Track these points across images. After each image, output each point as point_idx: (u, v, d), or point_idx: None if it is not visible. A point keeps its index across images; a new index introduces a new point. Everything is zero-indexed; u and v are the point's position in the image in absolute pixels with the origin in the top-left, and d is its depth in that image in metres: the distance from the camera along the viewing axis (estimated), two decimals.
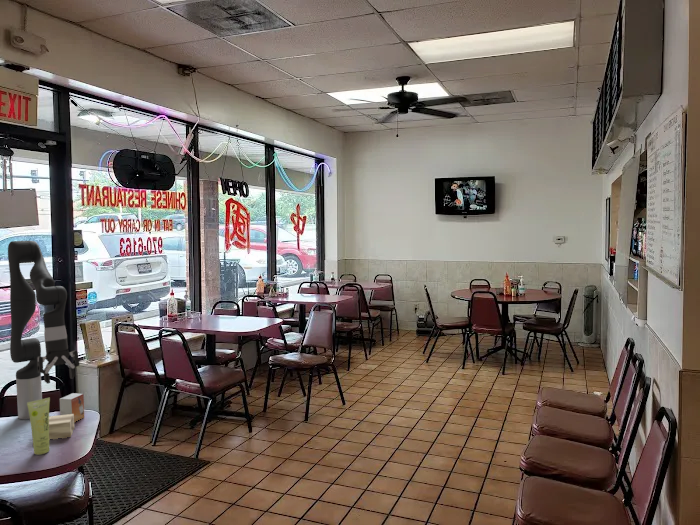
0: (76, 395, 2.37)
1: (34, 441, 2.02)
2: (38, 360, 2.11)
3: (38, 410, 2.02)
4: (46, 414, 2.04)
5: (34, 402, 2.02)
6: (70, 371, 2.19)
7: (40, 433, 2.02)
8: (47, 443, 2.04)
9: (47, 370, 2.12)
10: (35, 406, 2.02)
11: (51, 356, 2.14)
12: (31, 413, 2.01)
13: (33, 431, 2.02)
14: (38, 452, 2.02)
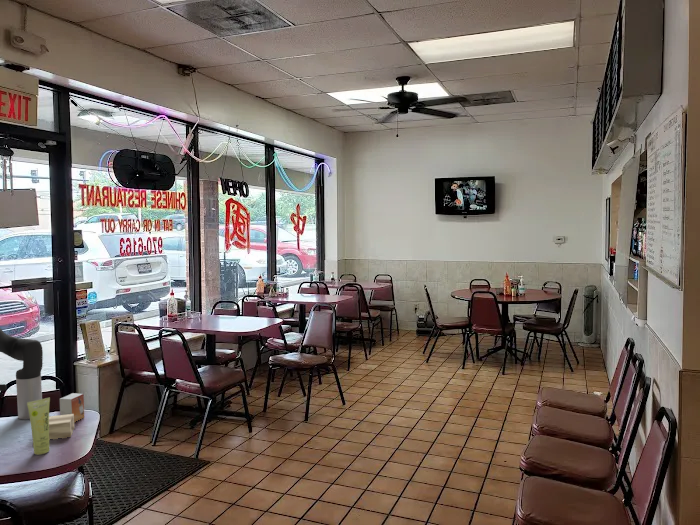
0: (76, 395, 2.37)
1: (34, 441, 2.02)
2: None
3: (38, 410, 2.02)
4: (46, 414, 2.04)
5: (34, 402, 2.02)
6: None
7: (40, 433, 2.02)
8: (47, 443, 2.04)
9: None
10: (35, 406, 2.02)
11: None
12: (31, 413, 2.01)
13: (33, 431, 2.02)
14: (38, 452, 2.02)
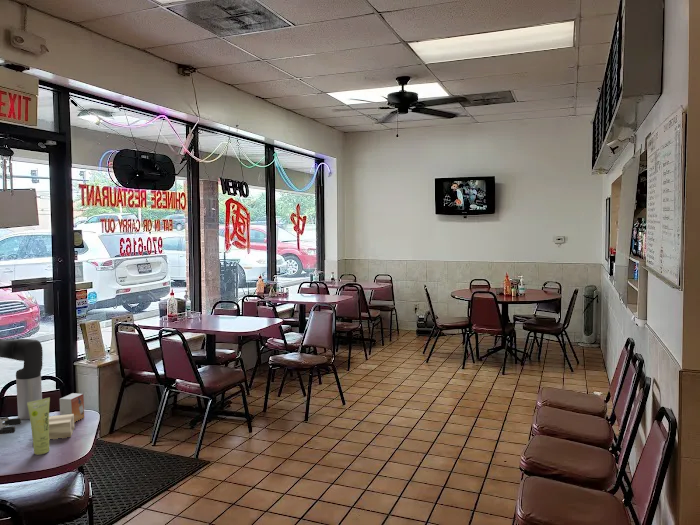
0: (76, 395, 2.37)
1: (34, 441, 2.02)
2: None
3: (38, 410, 2.02)
4: (46, 414, 2.04)
5: (34, 402, 2.02)
6: None
7: (40, 433, 2.02)
8: (47, 443, 2.04)
9: None
10: (35, 406, 2.02)
11: None
12: (31, 413, 2.01)
13: (33, 431, 2.02)
14: (38, 452, 2.02)
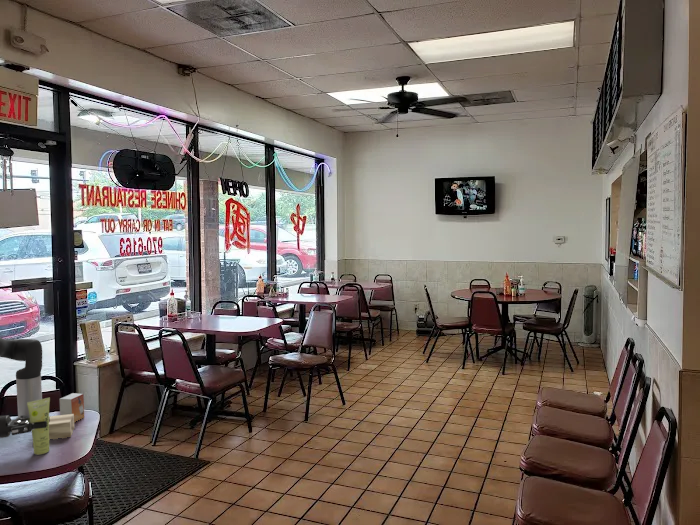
0: (76, 395, 2.37)
1: (34, 441, 2.02)
2: None
3: (38, 410, 2.02)
4: (46, 414, 2.04)
5: (34, 402, 2.02)
6: None
7: (40, 433, 2.02)
8: (47, 443, 2.04)
9: None
10: (35, 406, 2.02)
11: None
12: (31, 413, 2.01)
13: (33, 431, 2.02)
14: (38, 452, 2.02)
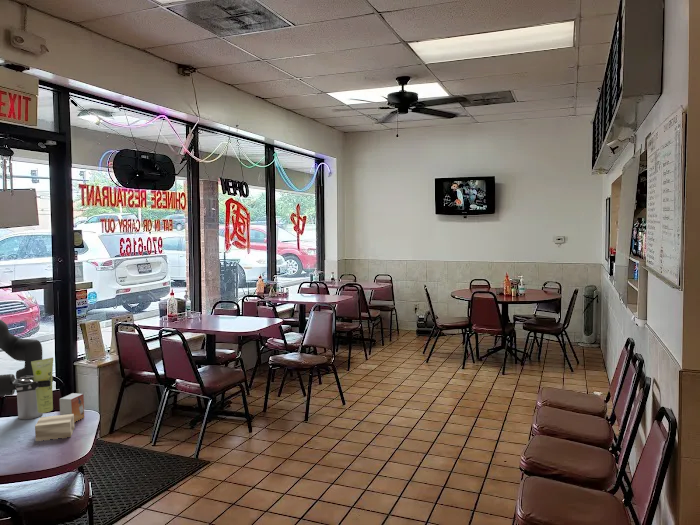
0: (76, 395, 2.37)
1: (38, 400, 2.06)
2: None
3: (42, 370, 2.06)
4: (50, 373, 2.08)
5: (37, 361, 2.06)
6: None
7: (44, 392, 2.06)
8: (50, 402, 2.08)
9: None
10: (39, 366, 2.06)
11: None
12: (35, 372, 2.05)
13: (37, 389, 2.06)
14: (41, 410, 2.06)
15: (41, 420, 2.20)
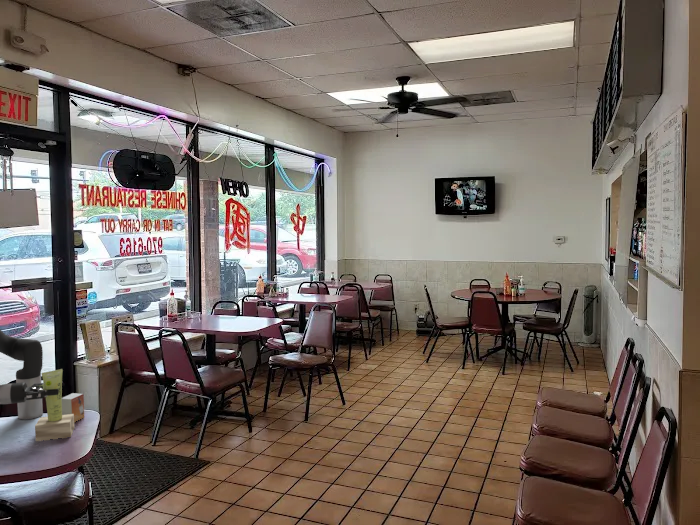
0: (76, 395, 2.37)
1: (48, 409, 2.18)
2: None
3: (52, 380, 2.18)
4: (59, 384, 2.20)
5: (48, 373, 2.18)
6: None
7: (54, 401, 2.18)
8: (60, 411, 2.20)
9: None
10: (49, 377, 2.18)
11: None
12: (46, 383, 2.17)
13: (47, 399, 2.18)
14: (51, 418, 2.18)
15: (41, 420, 2.20)
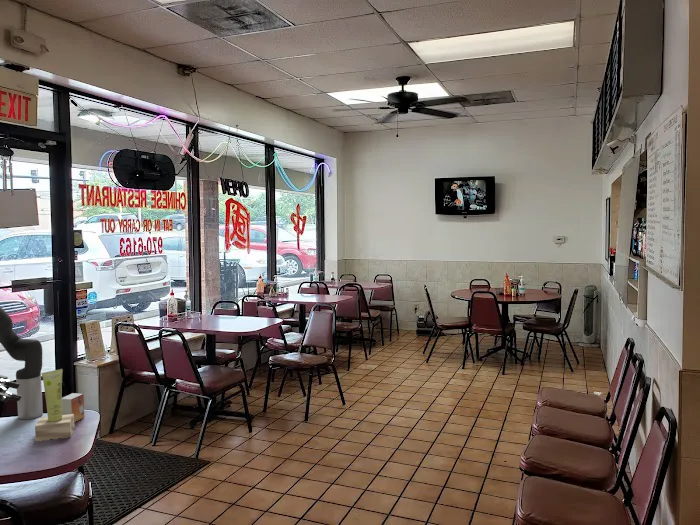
0: (76, 395, 2.37)
1: (48, 409, 2.18)
2: None
3: (52, 380, 2.18)
4: (59, 384, 2.20)
5: (48, 373, 2.18)
6: None
7: (54, 401, 2.18)
8: (60, 411, 2.20)
9: None
10: (49, 377, 2.18)
11: None
12: (46, 383, 2.17)
13: (47, 399, 2.18)
14: (51, 418, 2.18)
15: (41, 420, 2.20)
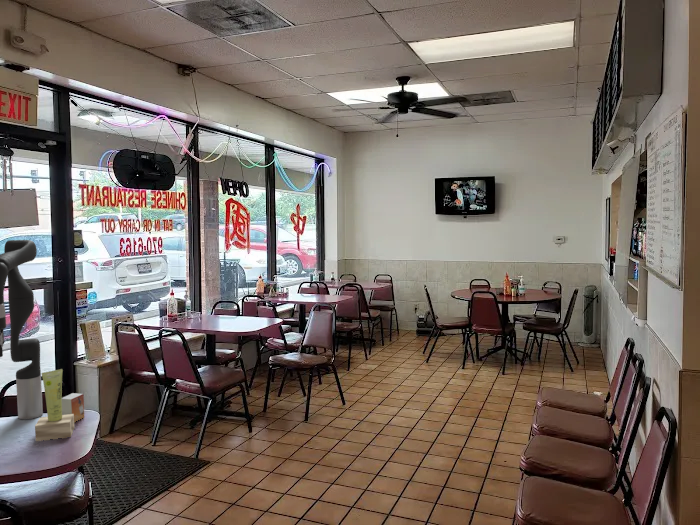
0: (76, 395, 2.37)
1: (48, 409, 2.18)
2: None
3: (52, 380, 2.18)
4: (59, 384, 2.20)
5: (48, 373, 2.18)
6: None
7: (54, 401, 2.18)
8: (60, 411, 2.20)
9: None
10: (49, 377, 2.18)
11: None
12: (46, 383, 2.17)
13: (47, 399, 2.18)
14: (51, 418, 2.18)
15: (41, 420, 2.20)
